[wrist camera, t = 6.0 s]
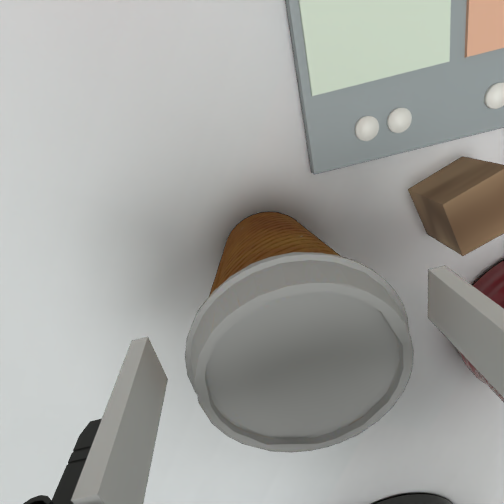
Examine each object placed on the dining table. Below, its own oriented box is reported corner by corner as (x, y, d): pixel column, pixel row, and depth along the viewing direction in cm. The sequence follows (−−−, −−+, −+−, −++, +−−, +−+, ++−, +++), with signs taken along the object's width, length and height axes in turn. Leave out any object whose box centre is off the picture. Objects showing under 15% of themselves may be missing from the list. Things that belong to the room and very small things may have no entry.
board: (581, 105, 21) (599, 104, 20) (311, 172, 21) (315, 175, 20) (639, -213, 15) (668, -236, 14) (268, -114, 16) (271, -129, 15)
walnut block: (477, 204, 23) (524, 221, 20) (426, 233, 24) (462, 255, 20) (461, 156, 22) (508, 165, 18) (407, 189, 23) (442, 204, 19)
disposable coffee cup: (176, 272, 24) (136, 413, 13) (250, 159, 21) (280, 216, 10) (281, 327, 26) (322, 483, 15) (358, 234, 24) (476, 344, 13)
